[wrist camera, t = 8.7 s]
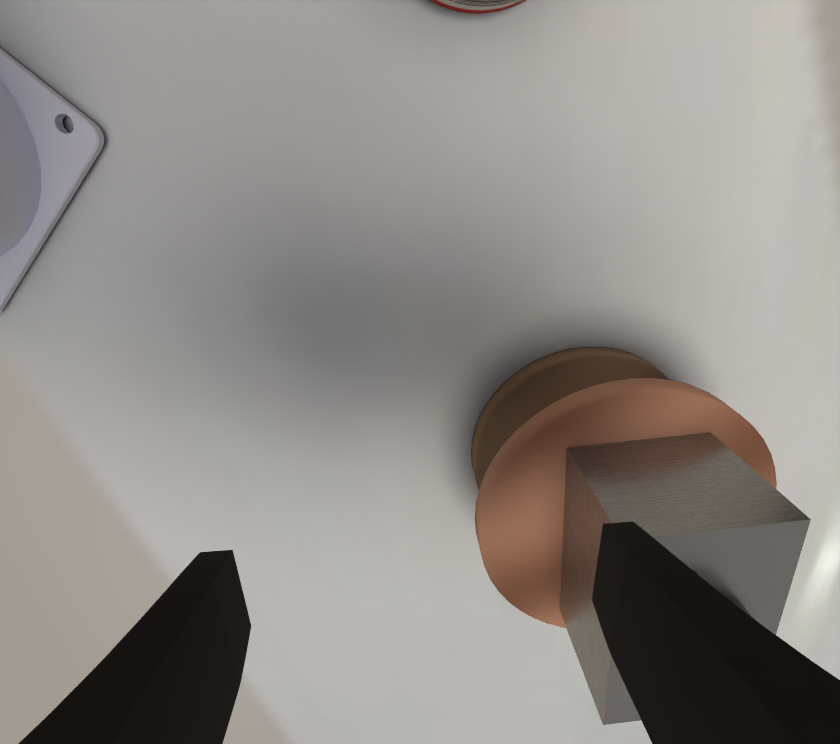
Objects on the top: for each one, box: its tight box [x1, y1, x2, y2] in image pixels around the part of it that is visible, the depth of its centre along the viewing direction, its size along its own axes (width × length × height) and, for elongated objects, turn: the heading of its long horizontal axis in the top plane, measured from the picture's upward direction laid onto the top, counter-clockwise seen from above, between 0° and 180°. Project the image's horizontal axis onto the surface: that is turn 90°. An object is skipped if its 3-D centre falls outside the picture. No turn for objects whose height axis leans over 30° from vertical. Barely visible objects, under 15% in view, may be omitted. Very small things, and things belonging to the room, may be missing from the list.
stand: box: [471, 347, 777, 628], centre depth 19 cm, size 10×10×5 cm
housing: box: [560, 432, 811, 725], centre depth 15 cm, size 4×7×5 cm, turn 5°
